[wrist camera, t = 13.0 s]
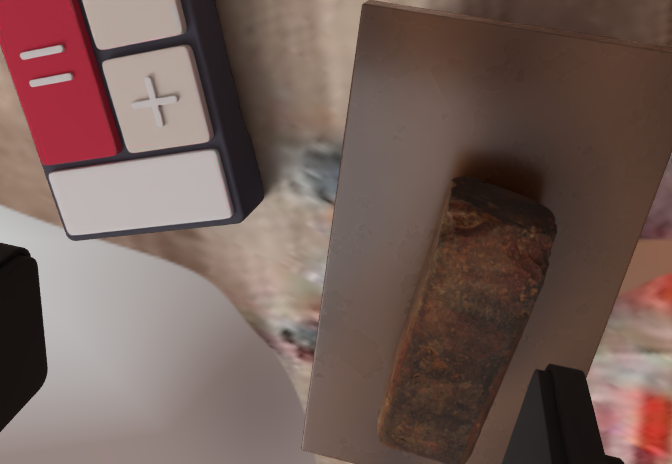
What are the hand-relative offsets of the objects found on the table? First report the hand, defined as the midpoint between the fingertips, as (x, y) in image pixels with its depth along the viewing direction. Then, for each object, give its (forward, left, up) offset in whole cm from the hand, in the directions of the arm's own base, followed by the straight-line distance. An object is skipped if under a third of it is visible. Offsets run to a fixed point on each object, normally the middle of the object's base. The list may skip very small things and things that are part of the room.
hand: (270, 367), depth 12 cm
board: (+4, -6, -17) cm, 18 cm away
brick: (+4, -6, -15) cm, 17 cm away
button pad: (-14, -2, -24) cm, 28 cm away
